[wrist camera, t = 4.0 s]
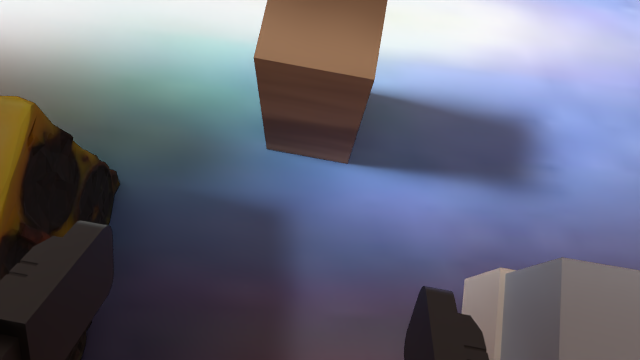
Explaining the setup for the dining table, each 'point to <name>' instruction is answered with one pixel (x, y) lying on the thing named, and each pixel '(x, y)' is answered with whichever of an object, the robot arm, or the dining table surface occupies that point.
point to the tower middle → (571, 312)
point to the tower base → (487, 306)
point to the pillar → (317, 73)
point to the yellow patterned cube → (45, 185)
